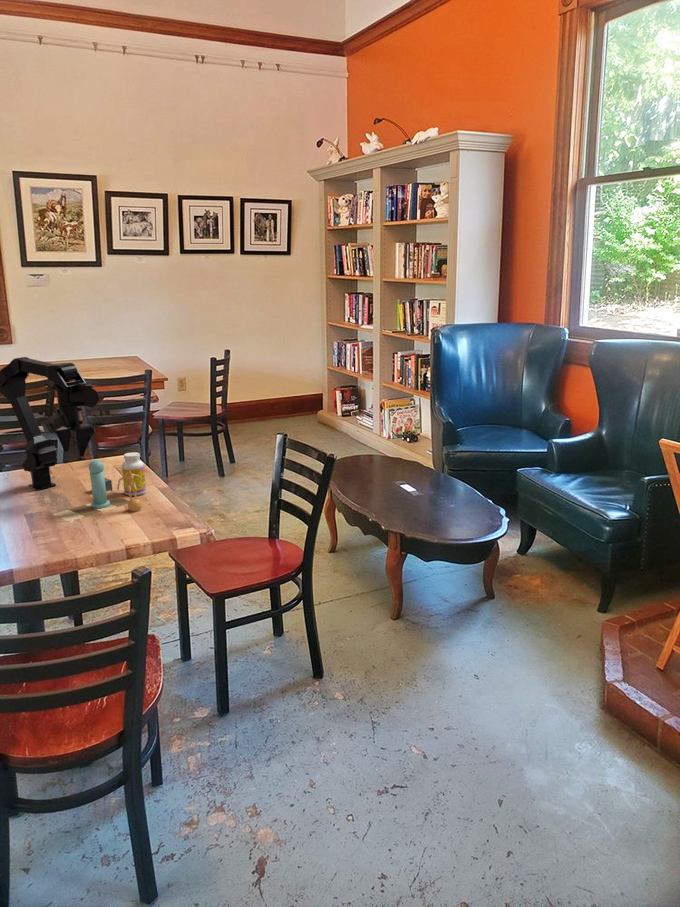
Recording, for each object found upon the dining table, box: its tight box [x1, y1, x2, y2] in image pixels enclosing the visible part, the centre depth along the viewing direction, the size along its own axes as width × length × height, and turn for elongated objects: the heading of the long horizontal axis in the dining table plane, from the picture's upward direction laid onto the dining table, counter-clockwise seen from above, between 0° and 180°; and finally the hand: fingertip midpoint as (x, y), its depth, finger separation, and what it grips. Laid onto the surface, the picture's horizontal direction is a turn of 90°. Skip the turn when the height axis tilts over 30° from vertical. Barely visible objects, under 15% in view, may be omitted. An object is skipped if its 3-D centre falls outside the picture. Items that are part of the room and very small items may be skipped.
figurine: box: [116, 471, 146, 513], centre depth 199 cm, size 8×6×12 cm
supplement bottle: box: [121, 451, 147, 497], centre depth 215 cm, size 7×7×13 cm
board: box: [51, 495, 130, 523], centre depth 202 cm, size 10×21×1 cm, turn 139°
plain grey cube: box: [104, 477, 113, 492], centre depth 217 cm, size 4×4×4 cm
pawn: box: [88, 459, 110, 510], centre depth 201 cm, size 5×5×14 cm
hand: (74, 453), depth 213 cm, fingers open, 9 cm apart
